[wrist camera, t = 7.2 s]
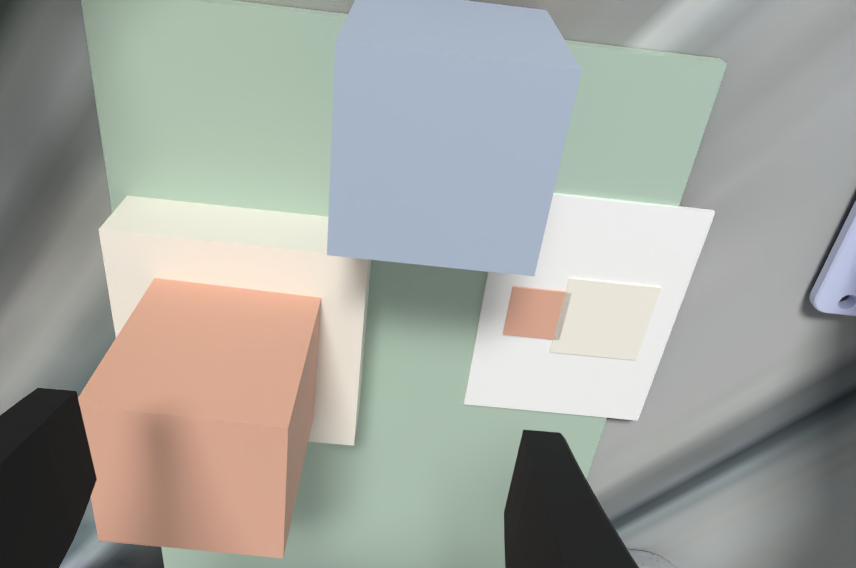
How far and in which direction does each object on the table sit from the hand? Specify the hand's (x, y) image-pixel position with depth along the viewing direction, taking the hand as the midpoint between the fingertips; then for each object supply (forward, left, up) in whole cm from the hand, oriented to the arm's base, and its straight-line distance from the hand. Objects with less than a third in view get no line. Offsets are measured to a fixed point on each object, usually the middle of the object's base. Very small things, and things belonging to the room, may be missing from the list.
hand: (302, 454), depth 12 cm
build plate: (-1, +7, -10) cm, 12 cm away
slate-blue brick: (-2, -3, -10) cm, 11 cm away
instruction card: (-7, +3, -10) cm, 12 cm away
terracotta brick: (+3, +4, -8) cm, 9 cm away
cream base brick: (+3, +4, -10) cm, 11 cm away
